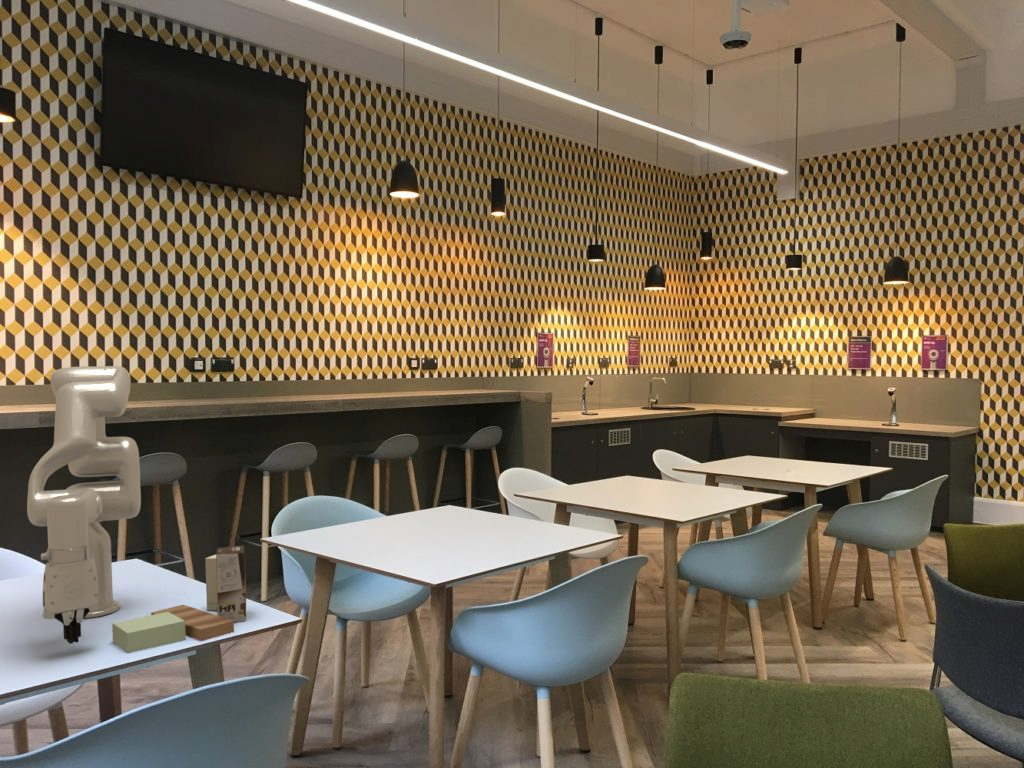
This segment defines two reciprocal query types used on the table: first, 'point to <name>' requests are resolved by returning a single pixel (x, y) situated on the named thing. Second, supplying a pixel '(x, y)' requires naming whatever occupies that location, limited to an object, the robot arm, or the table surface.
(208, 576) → the box
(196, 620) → the board
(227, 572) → the coffee box
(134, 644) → the slab
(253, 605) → the table surface
